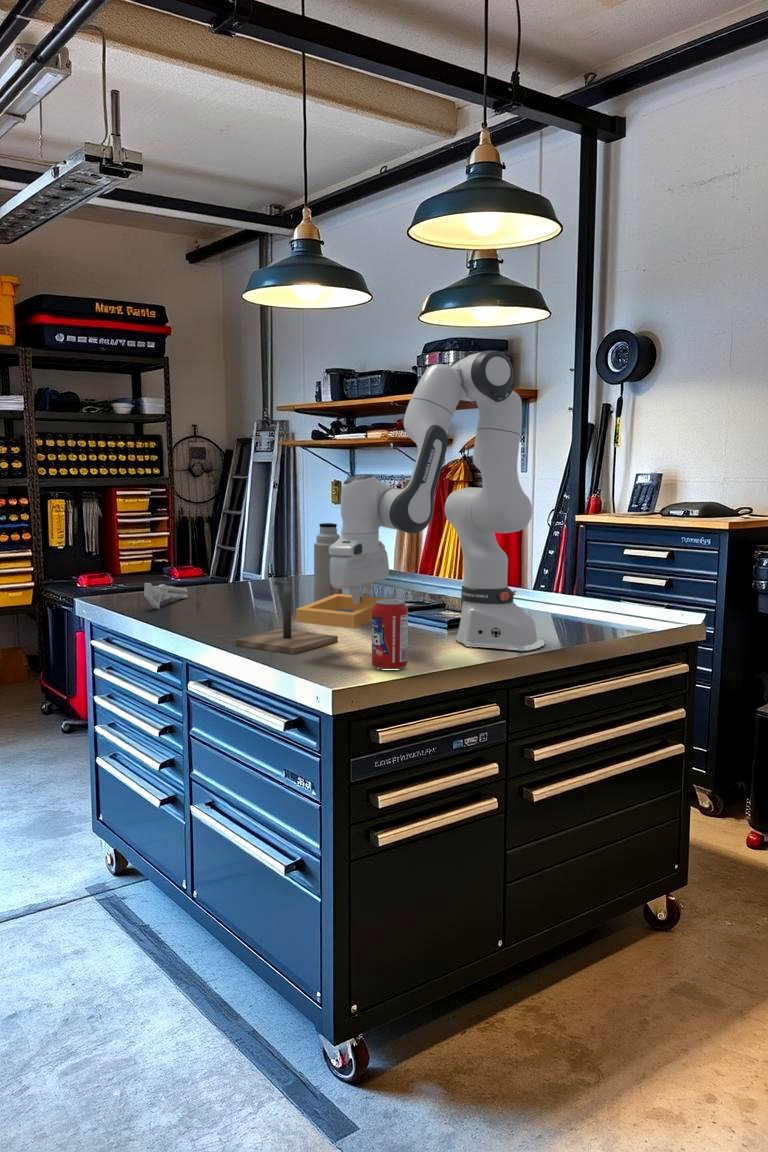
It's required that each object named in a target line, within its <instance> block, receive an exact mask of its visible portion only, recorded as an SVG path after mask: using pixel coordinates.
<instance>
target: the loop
mask: <svg viewBox="0 0 768 1152" xmlns="http://www.w3.org/2000/svg"><path fill="white" fill-rule="evenodd" d="M380 599H391V598H390V597H377V596H376V597H375V596H370V597H368V596H362V603H360V604H354V603H353V597H352V595H351V594H343V593H342V594H334V595H332V596H329V597H326V598H324V599H321V600H319V601H316V602H314V601H313V602H310V603H308V604H306V605H304V606H301V607H298V608H295V614H296V616H295V617H296V618H295V619H296V623H303V624H311V625H320V626H321V625H322V626H330V627H337V628H338V627H339V628H346V629H347V628H349V629H357V628H359V627H361V626H363V625H365V624H368V623H370V622H372V608H373V607H374V605H375V603H376V602H375V601H376V600H380ZM338 608H341V609H342V611H334V610H336V609H338ZM344 609H345V610H353V611H352V612H351V611H350V612H349V611H343V610H344Z"/></svg>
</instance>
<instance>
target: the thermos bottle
mask: <svg viewBox="0 0 768 1152" xmlns="http://www.w3.org/2000/svg"><path fill="white" fill-rule="evenodd" d="M337 527H338V525H337V523H330V522H329V523H328V522H326V523H325V522H323V523H319V533H318V534H317V535H316V537H315V539H316V542H315V543H314V544H313V602H316V601H319V600H321V599H324V598H326V597H329V596H332V595H334V594H343V589H337V588H333V587H332V585H331V583H330V559H331V557H332V556H333V555H330V554H329V547H330V546H331V545H332V544H333V543H335V542H336V541H337V540H338V539H339V538H341V536H340V535H341V534H339V533H338V528H337ZM334 611H343V609H341V608H338V609H336V610H334Z"/></svg>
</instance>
